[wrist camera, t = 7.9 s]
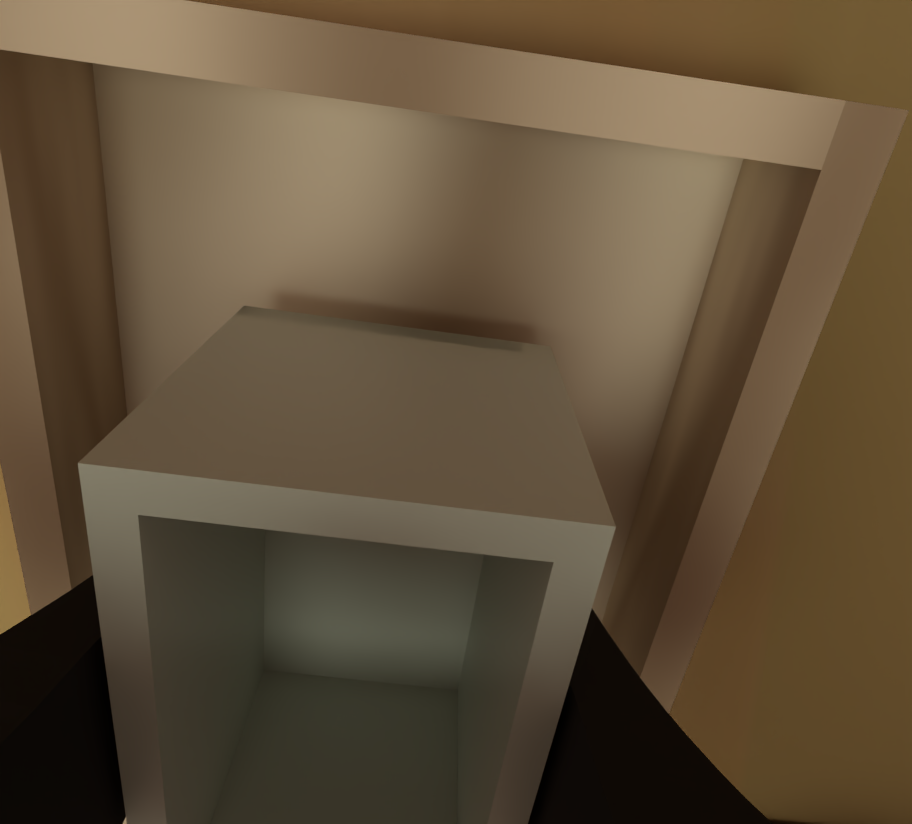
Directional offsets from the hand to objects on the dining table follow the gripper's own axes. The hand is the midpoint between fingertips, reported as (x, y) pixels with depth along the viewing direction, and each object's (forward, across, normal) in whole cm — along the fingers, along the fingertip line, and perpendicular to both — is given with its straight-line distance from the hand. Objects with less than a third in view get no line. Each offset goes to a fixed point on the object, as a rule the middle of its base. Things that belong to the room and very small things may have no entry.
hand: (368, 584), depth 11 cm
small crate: (+2, 0, 0) cm, 2 cm away
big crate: (+3, 0, 0) cm, 3 cm away
